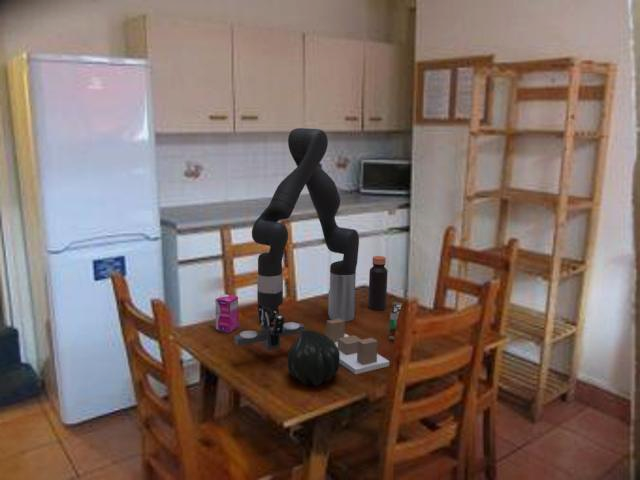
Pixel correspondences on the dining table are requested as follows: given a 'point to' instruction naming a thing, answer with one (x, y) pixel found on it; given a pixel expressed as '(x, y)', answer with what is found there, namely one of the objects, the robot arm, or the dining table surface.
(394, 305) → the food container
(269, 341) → the grey white knobbed bar
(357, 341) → the display stand
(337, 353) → the squash
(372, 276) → the bottle
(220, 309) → the supplement box
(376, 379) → the dining table surface
